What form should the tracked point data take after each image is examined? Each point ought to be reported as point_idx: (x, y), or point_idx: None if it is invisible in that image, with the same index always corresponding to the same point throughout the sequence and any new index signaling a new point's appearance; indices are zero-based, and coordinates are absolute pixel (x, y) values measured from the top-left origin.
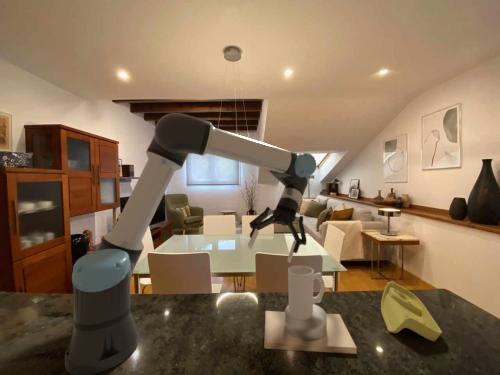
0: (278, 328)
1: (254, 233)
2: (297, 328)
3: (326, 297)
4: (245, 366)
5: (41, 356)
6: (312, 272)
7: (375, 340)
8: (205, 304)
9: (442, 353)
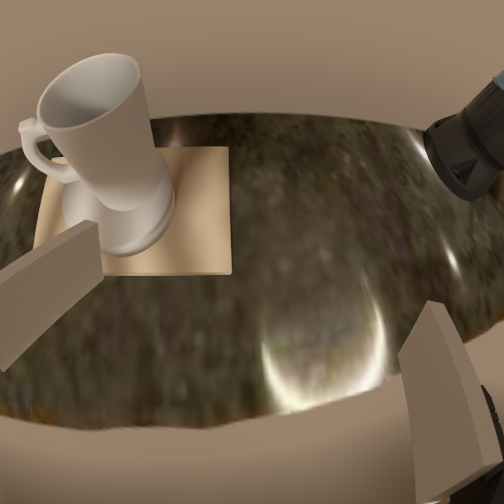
0: (193, 192)
1: (475, 399)
2: None
3: (45, 391)
4: (258, 118)
5: None
6: (56, 77)
7: (11, 206)
8: (404, 309)
9: None
